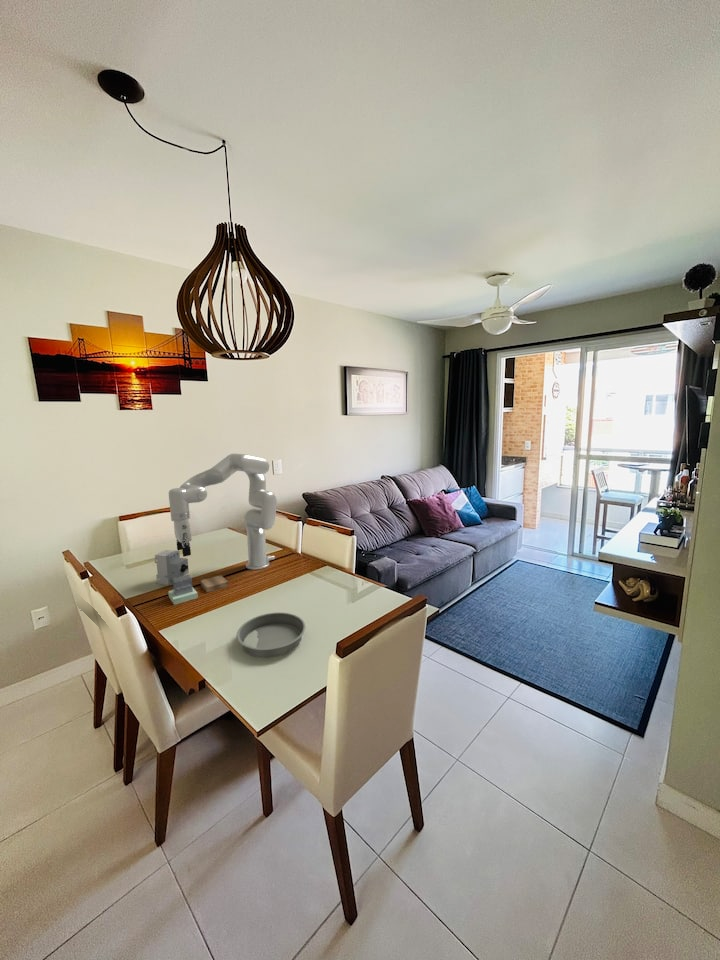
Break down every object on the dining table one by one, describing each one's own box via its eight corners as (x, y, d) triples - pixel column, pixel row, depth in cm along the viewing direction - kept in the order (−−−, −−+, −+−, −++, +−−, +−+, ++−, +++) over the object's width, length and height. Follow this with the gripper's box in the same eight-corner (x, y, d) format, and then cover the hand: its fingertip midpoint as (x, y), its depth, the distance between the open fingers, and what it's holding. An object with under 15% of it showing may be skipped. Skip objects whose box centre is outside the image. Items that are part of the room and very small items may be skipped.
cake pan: (274, 616, 157) (273, 605, 156) (319, 635, 143) (319, 624, 142) (223, 645, 137) (222, 633, 136) (269, 670, 123) (269, 658, 122)
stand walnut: (221, 579, 191) (221, 575, 191) (228, 586, 183) (228, 581, 183) (200, 585, 185) (200, 580, 184) (207, 592, 177) (206, 587, 177)
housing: (189, 587, 176) (188, 574, 175) (192, 591, 173) (191, 578, 171) (173, 592, 172) (172, 578, 171) (176, 596, 168) (174, 582, 167)
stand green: (191, 590, 179) (191, 585, 179) (197, 598, 172) (197, 592, 171) (168, 596, 173) (168, 591, 173) (174, 604, 166) (173, 599, 165)
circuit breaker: (182, 586, 184) (180, 557, 181) (156, 583, 186) (154, 554, 184) (192, 579, 191) (190, 551, 188) (167, 577, 194) (164, 549, 191)
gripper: (194, 518, 163) (198, 556, 167) (184, 510, 177) (187, 545, 180) (176, 521, 159) (180, 560, 162) (166, 513, 172) (170, 549, 175)
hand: (184, 552), depth 171 cm, fingers open, 9 cm apart
